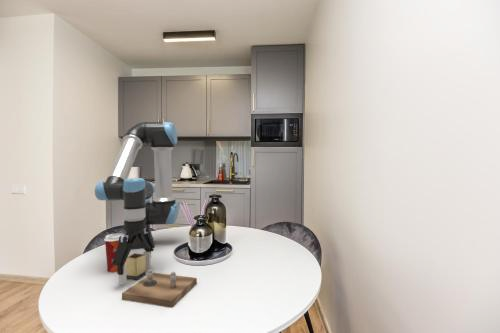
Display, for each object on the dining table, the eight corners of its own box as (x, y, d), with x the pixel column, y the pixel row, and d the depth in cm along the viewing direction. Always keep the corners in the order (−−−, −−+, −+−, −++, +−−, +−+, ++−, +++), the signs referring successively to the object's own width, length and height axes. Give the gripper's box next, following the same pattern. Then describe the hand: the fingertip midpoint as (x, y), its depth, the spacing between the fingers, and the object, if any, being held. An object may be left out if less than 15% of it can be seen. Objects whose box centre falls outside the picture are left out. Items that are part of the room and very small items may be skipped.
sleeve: (134, 273, 103) (134, 253, 102) (145, 274, 101) (145, 254, 101) (125, 279, 98) (125, 257, 98) (136, 280, 96) (136, 259, 96)
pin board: (153, 277, 99) (153, 259, 98) (196, 283, 94) (196, 264, 94) (121, 299, 83) (121, 277, 83) (171, 307, 78) (171, 284, 78)
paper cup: (117, 274, 102) (116, 238, 102) (100, 272, 104) (99, 237, 104) (130, 266, 110) (129, 233, 110) (114, 265, 111) (113, 232, 111)
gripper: (147, 212, 112) (148, 261, 112) (99, 226, 88) (100, 288, 88) (162, 213, 110) (163, 263, 110) (118, 227, 86) (119, 291, 86)
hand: (135, 274), depth 99 cm, fingers open, 13 cm apart
